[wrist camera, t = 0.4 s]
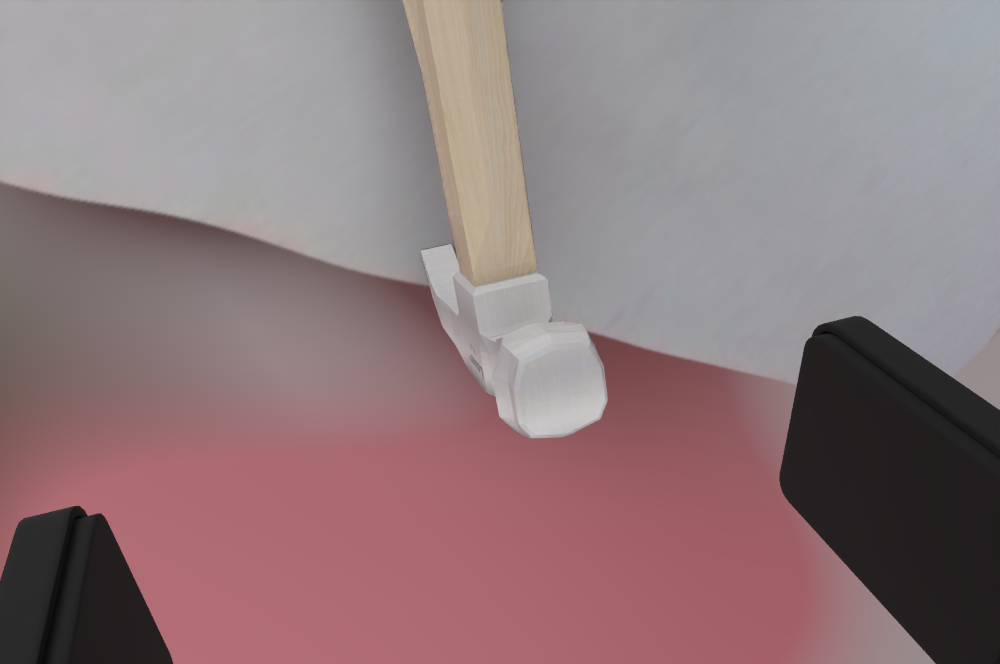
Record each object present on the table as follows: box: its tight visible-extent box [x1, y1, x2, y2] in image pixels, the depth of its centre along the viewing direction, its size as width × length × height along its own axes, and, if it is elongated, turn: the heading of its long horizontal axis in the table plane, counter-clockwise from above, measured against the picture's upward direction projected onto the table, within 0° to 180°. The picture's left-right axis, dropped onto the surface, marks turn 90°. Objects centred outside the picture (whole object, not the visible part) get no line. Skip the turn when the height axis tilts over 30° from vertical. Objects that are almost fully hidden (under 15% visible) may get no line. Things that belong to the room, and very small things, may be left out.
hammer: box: [403, 0, 608, 438], centre depth 33 cm, size 16×5×30 cm
